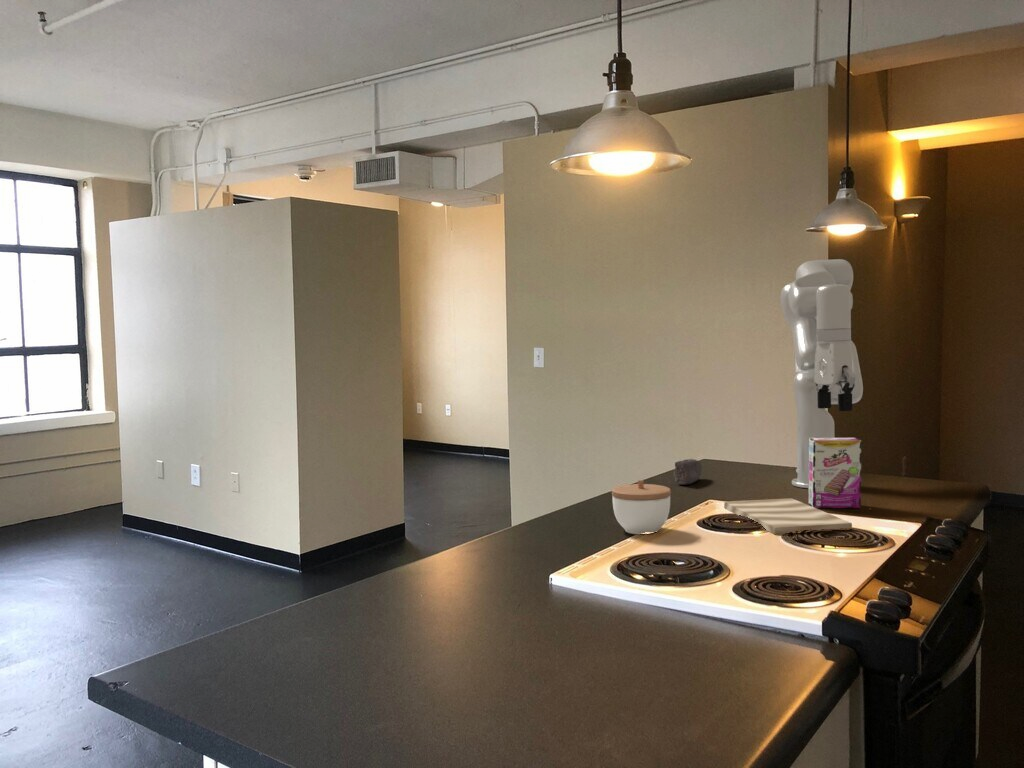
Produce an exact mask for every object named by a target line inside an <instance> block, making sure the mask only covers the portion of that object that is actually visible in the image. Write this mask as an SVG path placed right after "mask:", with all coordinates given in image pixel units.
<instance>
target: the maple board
mask: <svg viewBox="0 0 1024 768" xmlns="http://www.w3.org/2000/svg"><path fill="white" fill-rule="evenodd" d="M723 503H724V504H723V505H724V507H723V508H724V509H725V510H727V511H730V512H731V513H733V514H735V515H736V516H739V515H741V516H745V517H748V518H750V519H752V520H754V521H756V522H758V523H759V524H761V525H762V526H763V527H764V528H765V529H766V530H765V529H764V530H765V531H767V532H768V533H771V534H772V535H778V536H779V535H786V534H785V533H789V532H793V531H800V530H810V529H811V530H821V529H840V528H852V529H853V523H852V522H850V521H848V520H845V519H843V518H841V517H838V516H835V515H833V514H830V513H828V512H826V511H823V510H821V509H820V508H814V507H812V506H810V505H809V504H806V503H804V502H802V501H799V500H797V499H794V498H792V497H790V498H771V499H769V498H767V499H753V500H752V499H750V500H749V499H748V500H733V501H732V500H731V501H724V502H723Z"/></svg>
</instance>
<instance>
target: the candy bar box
mask: <svg viewBox="0 0 1024 768" xmlns="http://www.w3.org/2000/svg"><path fill="white" fill-rule="evenodd" d="M861 504H862V440H861V439H859V438H857V437H834V438H809V488H808V505H809V506H811V507H814V508H816V509H860V508H861V506H862V505H861Z"/></svg>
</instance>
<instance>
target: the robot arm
mask: <svg viewBox="0 0 1024 768" xmlns="http://www.w3.org/2000/svg"><path fill="white" fill-rule="evenodd" d="M795 271H796V272H795V280H794V281H793V282H790V283H788V284H786V285H784V286H783V287H782V289H781V293H780V303H781V310H782V314H783V317H784V320H785V322H786V323H787V325H788V327H789V328H790V331H791V334H792V341H793V342H792V343H793V350H794V357H795V363H796V365H797V367H798V369H799V370H800V371H799V372H797V373H796V374H795V376H794V378H793V382H792V383H793V385H792V386H793V393H794V400H795V406H796V435H797V436H796V444H797V447H796V449H797V453H796V454H797V458H796V459H797V468H796V469H795V472H796V473H797V478H796V477H795V478H793V479H792V480H791V484H792V486H794V487H797V488H804V489H809V438H835V420H834V417H833V416H832V415H831V414H830V413H829V411H828V410H827V409H831V408H832V405H837V410H838V411H839V412H852V411H853V404H856V403H858V402H860V400H861V399H862V398H863V392H864V386H863V385H864V384H863V378H862V373H861V368H860V362H859V356H858V351H857V347H856V345H855V343H854V342H853V341H852V329H851V328H852V320H851V318H852V315H851V313H852V312H851V310H852V309H853V305H854V299H853V298H854V297H853V293H852V292H851V289H852V287H853V282H854V270H853V267H852V265H851V263H850V262H849V261H847V260H845V259H842V258H841V259H840V258H838V259H834V258H833V259H815V260H808V261H806V262H803V263H802V264H801V265H799V266H798V267H797V270H795Z"/></svg>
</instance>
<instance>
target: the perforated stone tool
mask: <svg viewBox="0 0 1024 768" xmlns="http://www.w3.org/2000/svg"><path fill="white" fill-rule="evenodd" d="M674 467H675V468H674V472H673V477H674V480H675V483H676V484H679V485H682V486H683V485H691V484H693V483H695V482H697V481H698V480H699V479H700V478H701V475H702V473H703V466H702V463H701V462H700V461H699V460H697V459H693V458H692V459H691V458H689V459H683V460H678V461H676V462H674Z"/></svg>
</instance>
